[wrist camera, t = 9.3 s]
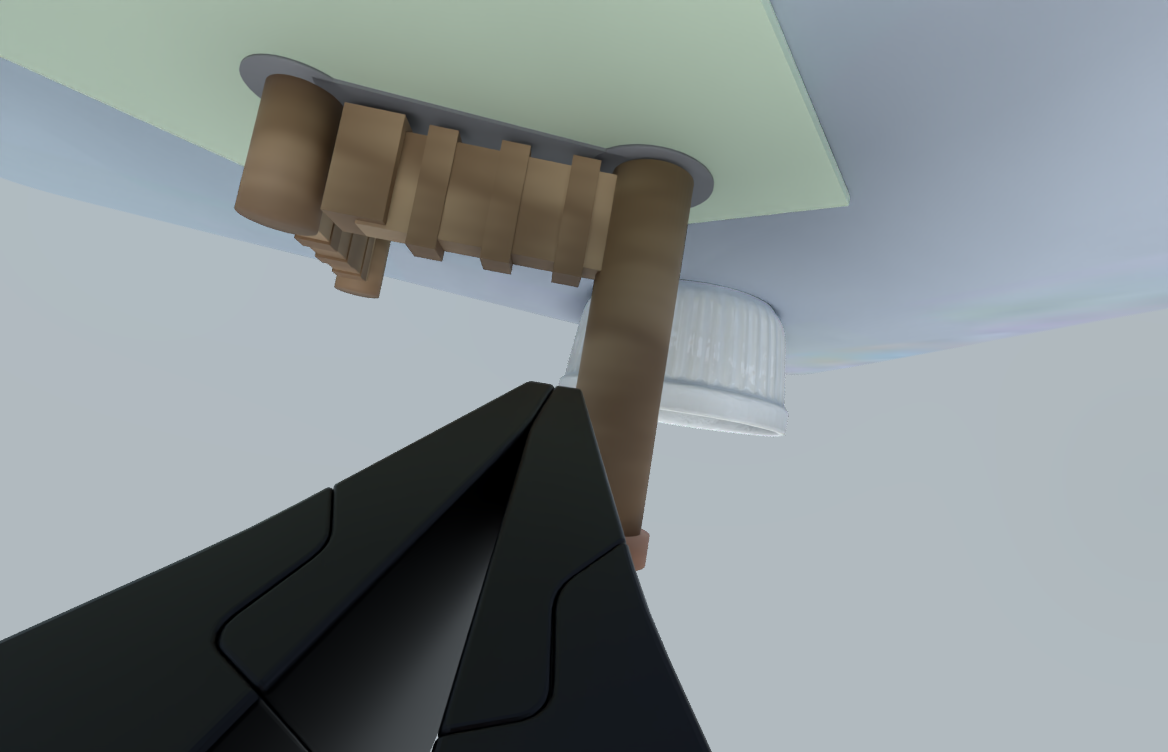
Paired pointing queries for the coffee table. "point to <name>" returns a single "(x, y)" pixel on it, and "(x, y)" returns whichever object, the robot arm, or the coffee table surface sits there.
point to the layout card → (468, 79)
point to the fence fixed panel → (304, 181)
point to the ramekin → (717, 362)
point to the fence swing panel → (540, 255)
